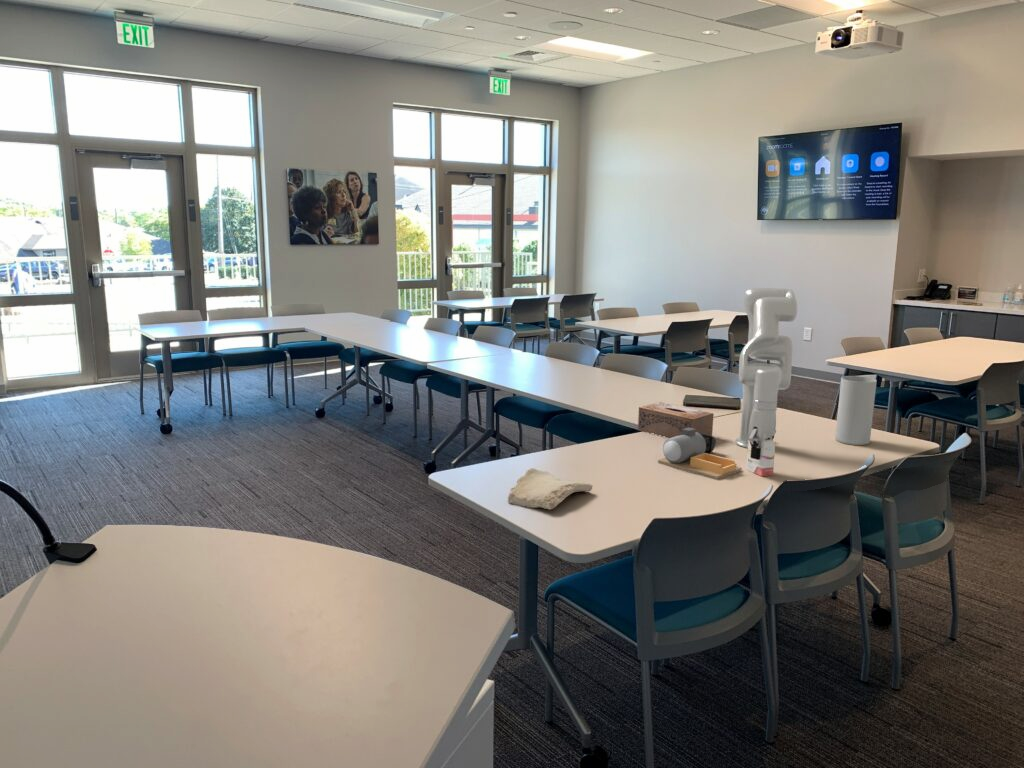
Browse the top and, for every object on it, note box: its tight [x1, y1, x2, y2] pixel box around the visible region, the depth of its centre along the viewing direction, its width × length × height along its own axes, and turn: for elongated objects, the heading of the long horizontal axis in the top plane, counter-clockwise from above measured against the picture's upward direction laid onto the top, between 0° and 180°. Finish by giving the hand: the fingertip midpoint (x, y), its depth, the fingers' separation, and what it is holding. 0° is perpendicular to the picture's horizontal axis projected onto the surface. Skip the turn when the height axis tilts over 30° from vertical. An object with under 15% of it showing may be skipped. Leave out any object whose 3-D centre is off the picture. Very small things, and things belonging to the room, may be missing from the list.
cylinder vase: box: [834, 375, 877, 446], centre depth 294 cm, size 12×12×25 cm
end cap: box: [701, 434, 717, 454], centre depth 280 cm, size 10×7×7 cm
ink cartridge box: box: [745, 434, 776, 477], centre depth 256 cm, size 9×5×15 cm, turn 20°
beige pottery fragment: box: [507, 467, 593, 511], centre depth 231 cm, size 24×8×20 cm
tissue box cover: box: [637, 401, 715, 439], centre depth 304 cm, size 26×14×10 cm, turn 43°
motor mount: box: [657, 427, 743, 480], centre depth 261 cm, size 15×24×12 cm, turn 42°
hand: (760, 456), depth 256 cm, fingers closed on ink cartridge box, 6 cm apart
